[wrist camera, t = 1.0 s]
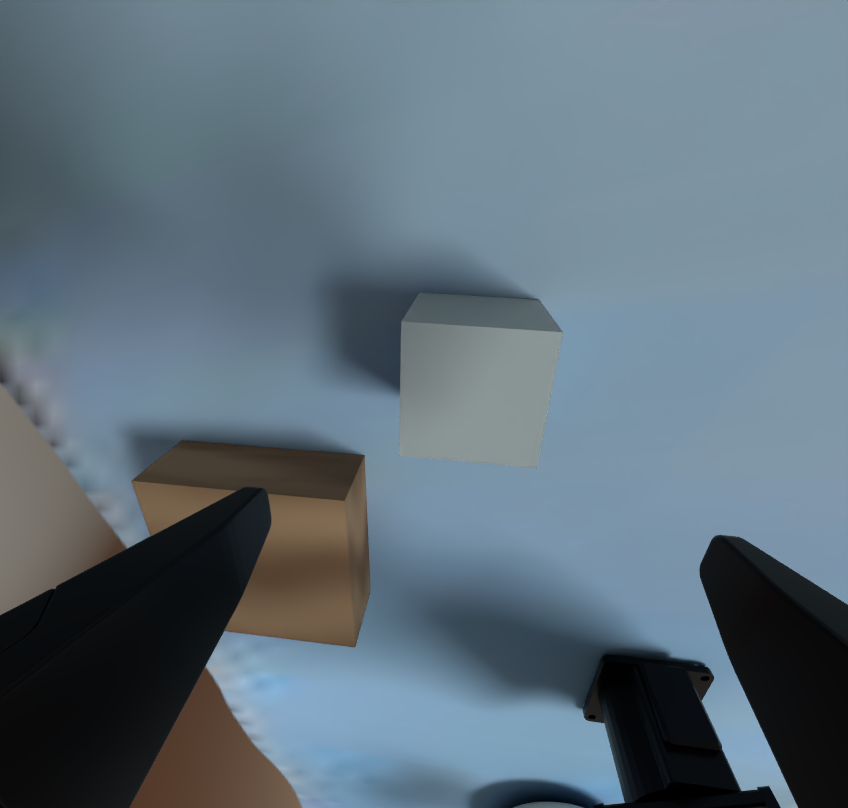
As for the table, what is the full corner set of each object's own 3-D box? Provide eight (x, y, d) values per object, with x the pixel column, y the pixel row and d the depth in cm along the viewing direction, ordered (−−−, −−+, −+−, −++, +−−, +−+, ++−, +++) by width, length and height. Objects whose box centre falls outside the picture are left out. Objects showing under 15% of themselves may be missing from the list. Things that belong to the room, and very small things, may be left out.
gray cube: (521, 407, 19) (537, 468, 15) (416, 398, 20) (399, 455, 15) (539, 299, 17) (563, 332, 13) (419, 292, 17) (401, 321, 13)
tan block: (371, 586, 26) (355, 647, 22) (221, 569, 27) (182, 625, 23) (366, 452, 21) (344, 500, 18) (186, 437, 22) (131, 481, 19)
